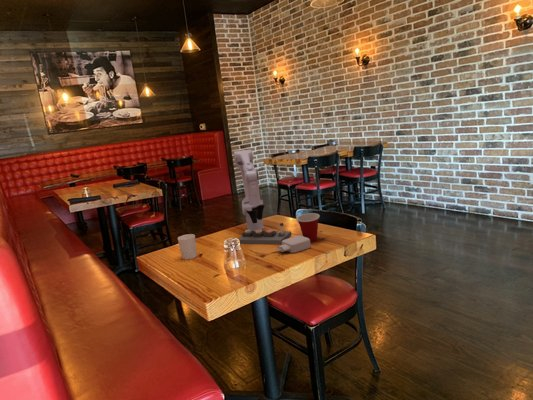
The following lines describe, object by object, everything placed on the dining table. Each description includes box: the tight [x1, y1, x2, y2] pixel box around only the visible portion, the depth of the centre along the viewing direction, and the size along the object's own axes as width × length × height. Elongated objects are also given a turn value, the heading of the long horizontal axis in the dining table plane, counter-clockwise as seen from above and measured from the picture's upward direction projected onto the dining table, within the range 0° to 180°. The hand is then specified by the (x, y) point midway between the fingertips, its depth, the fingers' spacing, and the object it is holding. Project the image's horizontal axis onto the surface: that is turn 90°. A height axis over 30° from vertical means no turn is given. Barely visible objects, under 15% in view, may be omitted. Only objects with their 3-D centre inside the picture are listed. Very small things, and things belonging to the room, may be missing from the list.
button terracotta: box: [265, 228, 274, 234], centre depth 197 cm, size 3×3×2 cm
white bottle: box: [275, 235, 312, 254], centre depth 178 cm, size 5×9×15 cm
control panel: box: [237, 230, 292, 245], centre depth 199 cm, size 14×24×4 cm, turn 67°
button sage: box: [244, 228, 251, 234], centre depth 202 cm, size 3×3×2 cm
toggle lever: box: [279, 222, 284, 233], centre depth 196 cm, size 2×2×5 cm
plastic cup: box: [296, 212, 320, 243], centre depth 187 cm, size 11×11×12 cm
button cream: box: [255, 229, 263, 234], centre depth 200 cm, size 3×3×2 cm
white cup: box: [177, 233, 198, 261], centre depth 186 cm, size 8×8×10 cm
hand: (257, 221), depth 199 cm, fingers open, 5 cm apart
